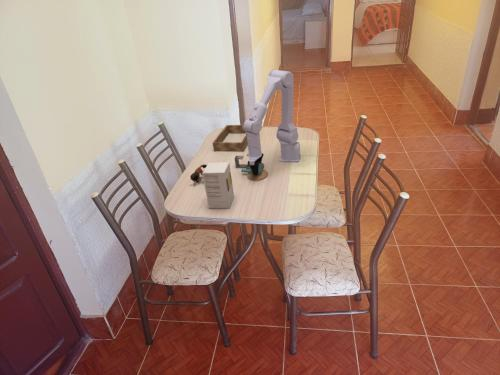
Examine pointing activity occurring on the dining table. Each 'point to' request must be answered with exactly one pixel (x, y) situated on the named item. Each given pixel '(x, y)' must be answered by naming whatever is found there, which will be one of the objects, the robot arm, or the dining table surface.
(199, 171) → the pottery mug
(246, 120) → the robot arm
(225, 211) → the dining table surface
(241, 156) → the dark grey handled bowl
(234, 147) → the tray
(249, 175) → the coaster
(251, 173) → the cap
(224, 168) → the supplement box
